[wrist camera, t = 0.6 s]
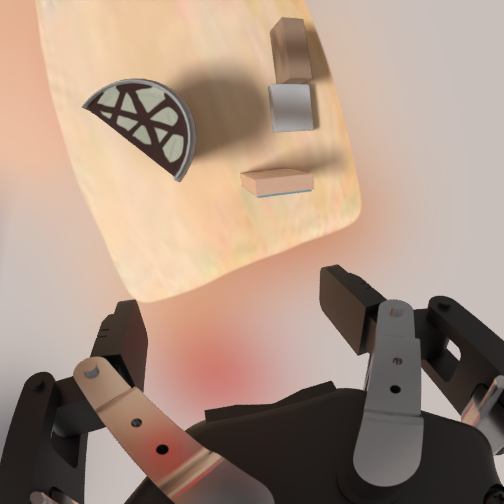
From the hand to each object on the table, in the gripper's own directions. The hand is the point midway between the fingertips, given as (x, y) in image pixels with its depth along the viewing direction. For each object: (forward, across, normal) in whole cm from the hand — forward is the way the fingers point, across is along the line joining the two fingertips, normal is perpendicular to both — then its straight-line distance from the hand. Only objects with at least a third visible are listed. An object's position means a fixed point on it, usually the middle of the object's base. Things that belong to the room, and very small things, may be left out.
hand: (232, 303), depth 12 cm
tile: (+25, -8, -2) cm, 26 cm away
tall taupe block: (+25, -12, -14) cm, 31 cm away
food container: (+25, +4, -10) cm, 27 cm away
